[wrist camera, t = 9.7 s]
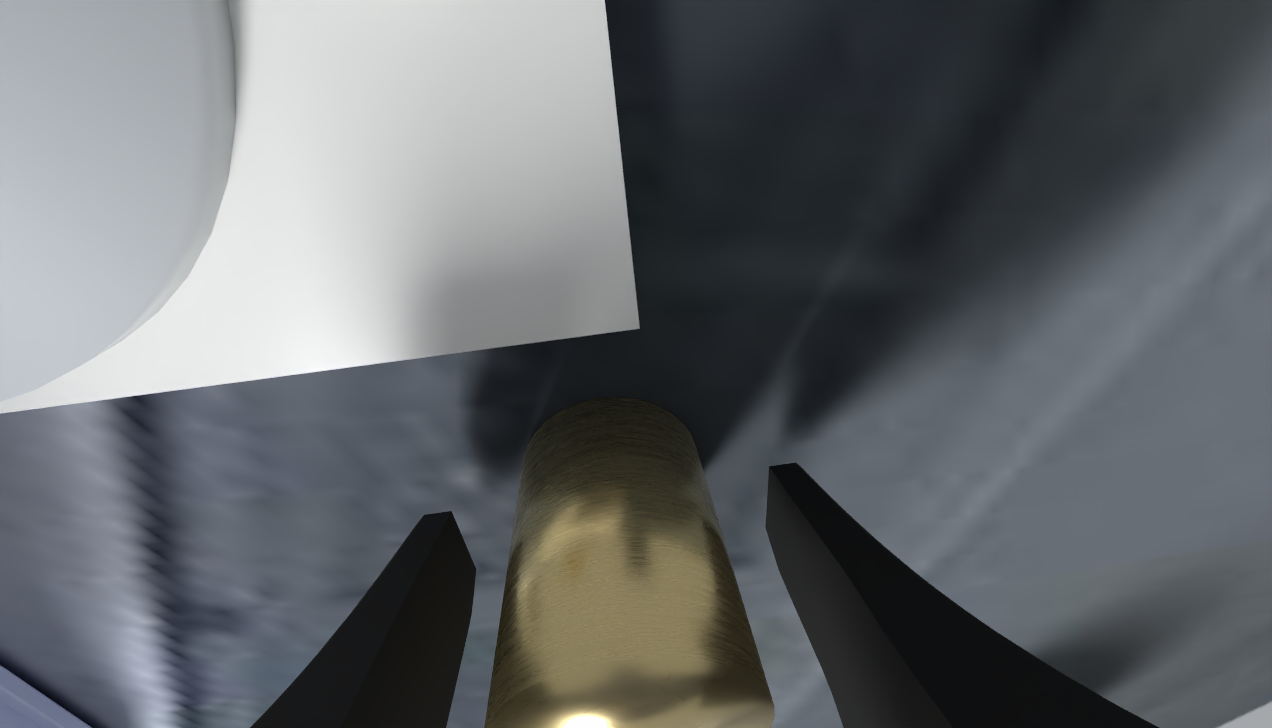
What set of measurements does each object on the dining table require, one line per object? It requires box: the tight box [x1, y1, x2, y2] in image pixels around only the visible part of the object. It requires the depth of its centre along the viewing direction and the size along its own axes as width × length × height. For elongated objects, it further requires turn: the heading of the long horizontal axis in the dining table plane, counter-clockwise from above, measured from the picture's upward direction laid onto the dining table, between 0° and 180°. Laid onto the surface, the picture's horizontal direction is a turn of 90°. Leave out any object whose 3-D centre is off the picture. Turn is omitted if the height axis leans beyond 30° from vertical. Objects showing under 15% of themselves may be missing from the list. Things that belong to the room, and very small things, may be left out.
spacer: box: [485, 397, 774, 728], centre depth 10 cm, size 4×4×6 cm
